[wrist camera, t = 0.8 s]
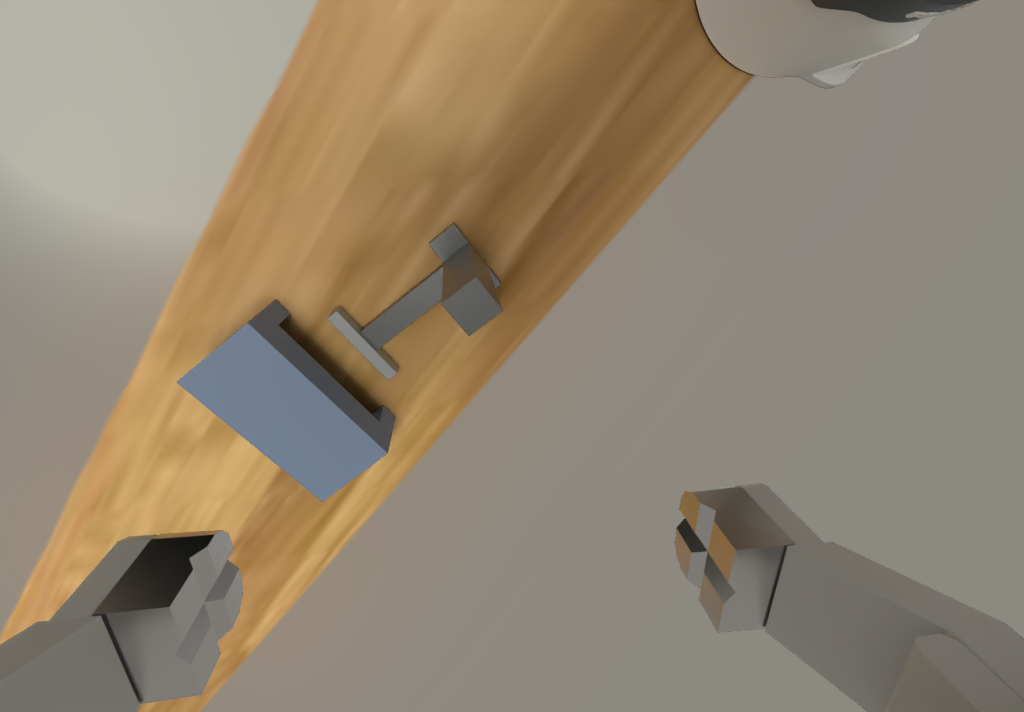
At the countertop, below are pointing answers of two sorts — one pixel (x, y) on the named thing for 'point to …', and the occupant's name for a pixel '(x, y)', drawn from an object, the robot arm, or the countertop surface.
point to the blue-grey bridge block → (290, 406)
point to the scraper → (430, 300)
